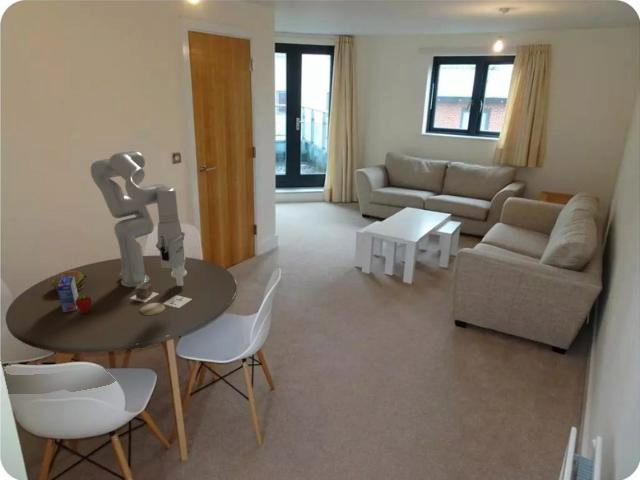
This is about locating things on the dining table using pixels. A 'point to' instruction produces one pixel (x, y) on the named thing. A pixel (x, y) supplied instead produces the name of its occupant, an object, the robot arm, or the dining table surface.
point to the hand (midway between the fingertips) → (172, 256)
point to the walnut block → (143, 291)
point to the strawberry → (83, 303)
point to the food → (77, 276)
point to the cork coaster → (152, 308)
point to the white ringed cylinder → (179, 274)
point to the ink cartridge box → (67, 293)
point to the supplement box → (174, 253)
